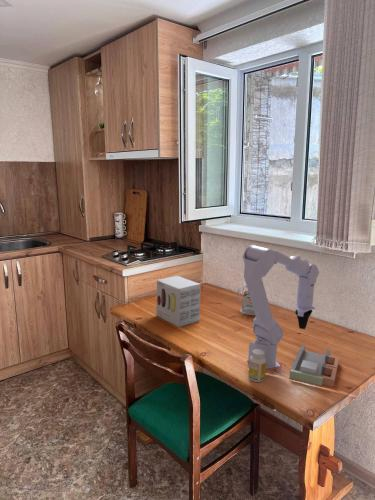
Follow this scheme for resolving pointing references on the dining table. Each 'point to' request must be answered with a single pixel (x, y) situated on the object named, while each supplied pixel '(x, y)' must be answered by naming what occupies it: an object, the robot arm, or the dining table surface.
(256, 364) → the supplement bottle
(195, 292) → the supplement box
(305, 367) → the block
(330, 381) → the box
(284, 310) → the dining table surface
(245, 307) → the french press
